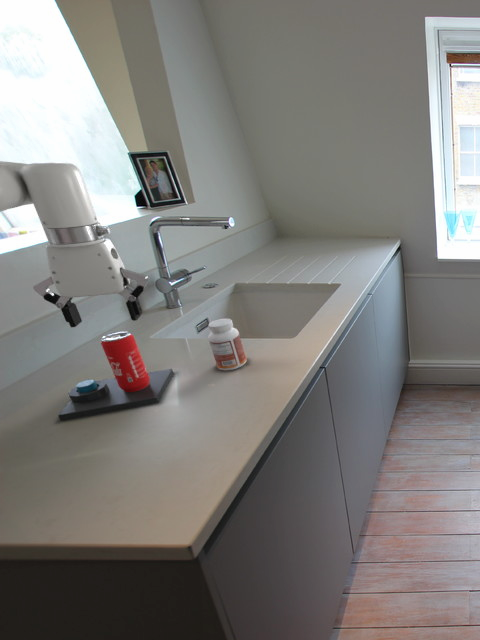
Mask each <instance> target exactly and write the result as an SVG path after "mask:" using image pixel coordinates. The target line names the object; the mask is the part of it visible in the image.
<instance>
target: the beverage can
mask: <svg viewBox="0 0 480 640" xmlns="http://www.w3.org/2000/svg"><path fill="white" fill-rule="evenodd" d="M100 340H101V342H100V345H101V348H102V350H103V352H104V354H105V357H106V359H107V362H108V364H109V366H110V369H111V370H112V373H113V375H114V378H116V380H117V383H118V385H119V387H120V388H121V389H122V390H124V392H128V393H129V392H136V391H139V390H142V389H144V388H146V387H147V386H148V385H149V380H150V378H149V375H148V373H149V372H148V370H147V367H146V365H145V362H144V359H143V357H142V355H141V352H140V349H139V347H138V345H137V341H136V339H135V337H134V335H133V334H132V333H131V331H128V330H121V331H115V332H111V333H108V334H106V335H103V336H102V337H101V338H100Z"/></svg>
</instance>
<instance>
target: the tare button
mask: <svg viewBox="0 0 480 640" xmlns="http://www.w3.org/2000/svg"><path fill="white" fill-rule="evenodd" d="M95 381H96V380H95V379H86V380H83V381H80V382H78V383H76V384H75V387H76V388H77V390H78V392H79V393H85V392H89V391H92V390H94V389H96V388H98V387H97V384H96V382H95Z"/></svg>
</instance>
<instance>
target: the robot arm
mask: <svg viewBox="0 0 480 640" xmlns="http://www.w3.org/2000/svg"><path fill="white" fill-rule="evenodd" d="M27 205H33V206H34V209H35V211H36V214H37V216H38V219H39V222H40V224H41V226H42V229H43V231H44V234H45V237H46V240H47V242H48V244H46V245H45V253H46V259H47V260H46V261H47V265H48V268H49V269H48V270H49V272H50V276H49V277H47V278H45V279H44V280H42V281H40V282H38V283H37V284H35V285H33V286H32V290H33V291H34V292H36V293H37V294H38V295H40V296H41V297H42V298H43V299H44V301H46V302H48V303H50V304H53V305H54V306H55V307H56V308H58V309H60V311H61V313H62V316H63V318H64V320H65V322H66V323H68V324H69V326H70V328H76V327H77V326H79V325H80V324H81V323H82V322H83V320H82V319H83V318H82V316H81V314H80V313H79V310H78V307H77V304H76V303H75V302H72V300H73V298H84V297H95V296H96V297H97V296H105V295H107V296H108V295H115V294H118V295H120V297H123V298H124V299H126V300H127V301H126V302H125V305H126V307H127V311H128V314H129V317H130V319H131V321H133V322H134V321H138V319H140V317H141V316H142V314H143V309H142V306H141V303H140V300H139V296H141V294H142V293H143V292H145V290H146V287H147V284H148V281H149V277H148V275H146V274H143V273H139V272H136V271H132V270H129V269H127V268H126V267H125V264H124V263H123V260H122V258H121V256H120V254H119V252H118V250H117V248H116V247H115V244H114V243H113V242H112V240H111V239H110V238H104V237H105V236H107V235H111V233H112V232H111V228H110V226H103V225H101V223H100V222H98V218H97V215H96V212H95V210H94V206H93V203H92V200H91V198H90V195H89V192H88V189H87V185H86V183H85V181H84V177H83V175H82V172H81V170H80V169H79V168H78V166H77V165H75V164H73V163H71V162H64V161H62V162H60V161H47V162H45V161H43V162H31V163H25V162H24V163H22V162H12V161H2V160H0V213H1V212H4V211H7V210H11V209H16V208H19V207H23V206H27ZM131 280H132V281H135V282H136V287H135V288H133V287H131V286H130V285H131ZM52 285H54V288H55V290H56V292H57V293H58V294H57V293H56V292H53V291H51V290H50V288H49V287H50V286H52Z"/></svg>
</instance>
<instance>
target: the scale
mask: <svg viewBox="0 0 480 640" xmlns="http://www.w3.org/2000/svg"><path fill="white" fill-rule="evenodd" d="M147 373H148V375H149V378H150V380H149V385H148V386H147V387H146V388H144V389H142V390H139V391H136V392H129V393H128V392H124V390H122V389H121V388H120V387H119V385H118V383H117V380H116V378H115V377H113V378H106V379H100V380H95V382H96V384H97V387H98V388H96V389H94V390H92V391H89V392H85V393H79V392H78V390H77V388H76V386H75V387H73V388H72V389H70V390H69V391H68V393H67V394H68V396H69V398H70V401H69V402H68V403H67V404H66V405H65V406H64V408H62V410H61V411H60V412H59V413H58V418H59V420H60V422H61V421H62V422H63V421H67V420H68V421H69V420H75V419H79V418H85V417H89V416H96V415H100V414H105V413H112V412H117V411H122V410H128V409H134V408H139V407H144V406H151V405H156V404H159V403H160V400H161V399H162V398H163V395H164V394H165V391H166V390H167V387H169V384H170V382H171V380H172V378H173V376H174V374H175V373H174V369H173V368H167V369H162V370H156V371H149V372H147Z"/></svg>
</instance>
